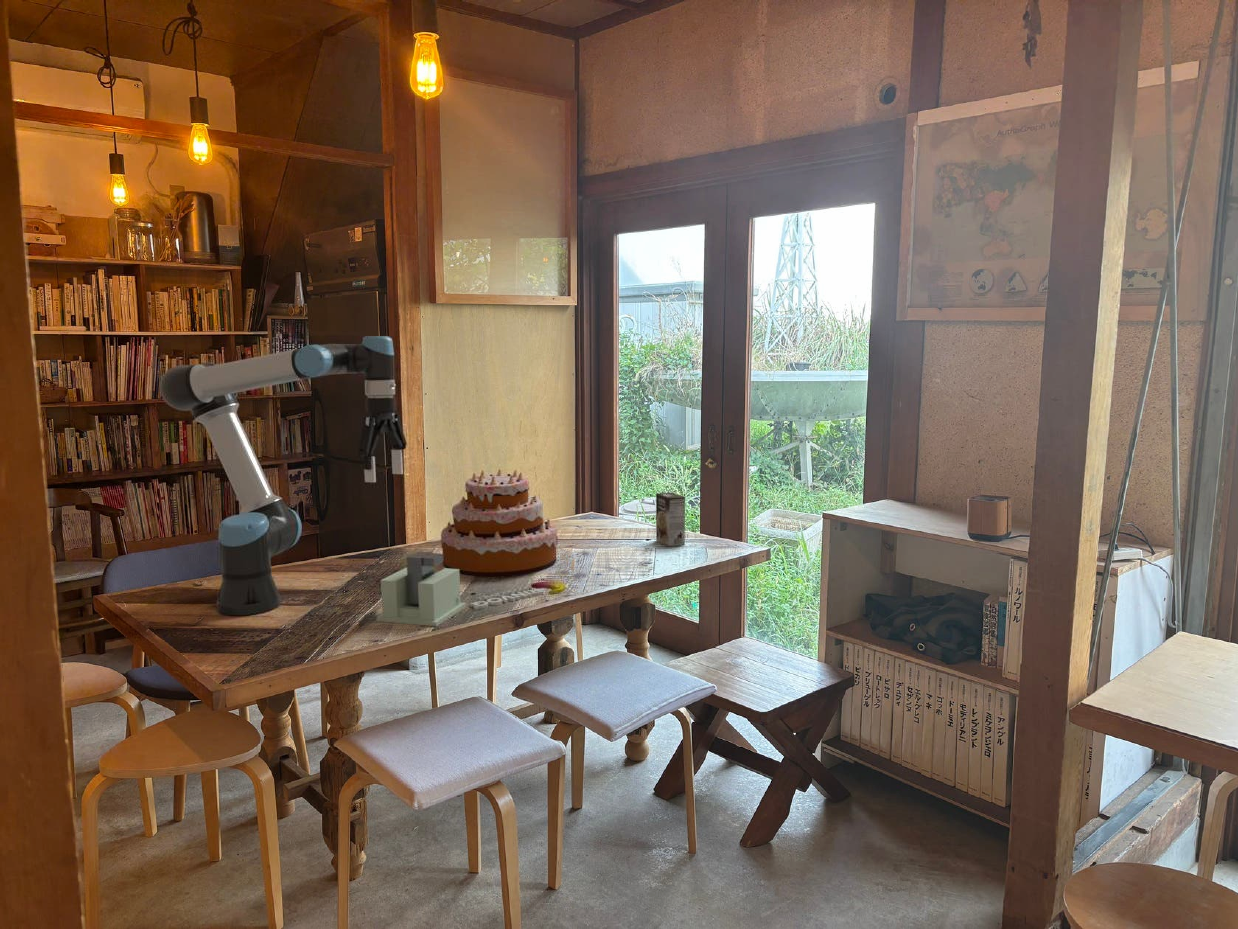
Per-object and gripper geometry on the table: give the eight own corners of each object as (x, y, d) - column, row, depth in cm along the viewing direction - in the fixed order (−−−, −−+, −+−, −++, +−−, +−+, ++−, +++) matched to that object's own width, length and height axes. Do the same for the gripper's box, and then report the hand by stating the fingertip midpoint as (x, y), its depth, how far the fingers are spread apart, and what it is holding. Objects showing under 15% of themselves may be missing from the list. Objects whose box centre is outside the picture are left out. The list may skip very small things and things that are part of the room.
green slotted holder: (376, 621, 218) (374, 581, 217) (409, 602, 233) (407, 564, 232) (436, 626, 214) (434, 585, 212) (465, 606, 229) (464, 568, 228)
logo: (551, 579, 251) (572, 586, 243) (551, 583, 251) (572, 590, 244) (458, 599, 232) (478, 608, 225) (458, 604, 233) (478, 612, 225)
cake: (572, 570, 264) (570, 476, 260) (453, 583, 251) (449, 485, 247) (540, 544, 296) (538, 461, 292) (432, 554, 284) (429, 467, 280)
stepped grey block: (408, 612, 221) (406, 557, 219) (420, 605, 227) (418, 551, 225) (434, 615, 219) (432, 559, 217) (446, 607, 225) (443, 553, 223)
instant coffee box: (655, 541, 299) (655, 493, 297) (672, 539, 302) (672, 491, 300) (668, 546, 291) (668, 497, 289) (685, 544, 294) (685, 496, 291)
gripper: (367, 400, 219) (371, 486, 222) (417, 393, 243) (420, 471, 246) (340, 399, 221) (344, 485, 224) (392, 393, 245) (396, 470, 248)
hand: (384, 478), depth 235 cm, fingers open, 13 cm apart
